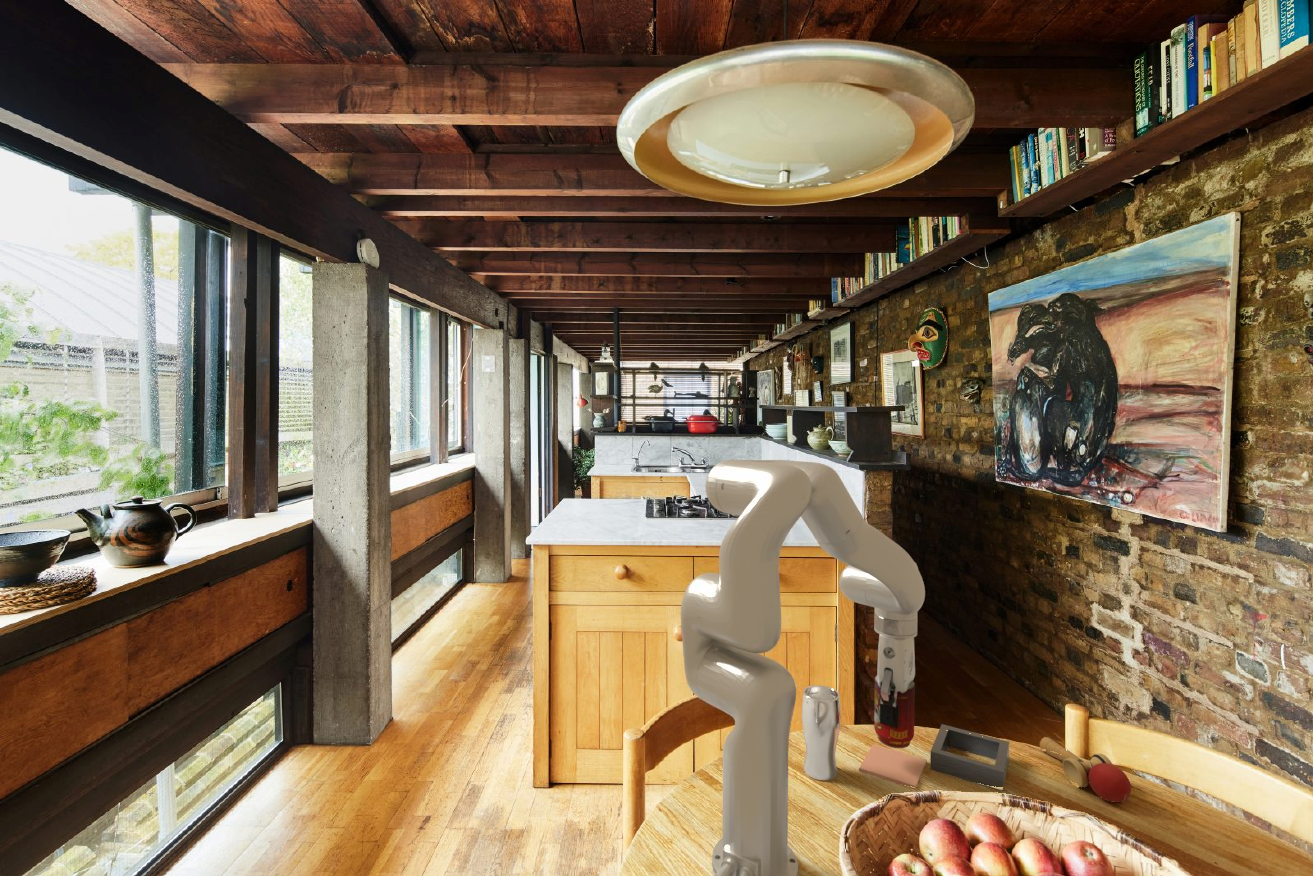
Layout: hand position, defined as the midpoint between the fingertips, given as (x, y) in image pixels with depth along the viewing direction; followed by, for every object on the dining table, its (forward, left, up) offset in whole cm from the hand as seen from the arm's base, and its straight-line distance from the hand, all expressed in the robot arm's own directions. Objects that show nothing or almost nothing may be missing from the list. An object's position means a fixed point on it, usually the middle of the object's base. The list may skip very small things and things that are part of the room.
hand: (894, 715), depth 116 cm
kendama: (+15, -29, -10) cm, 35 cm away
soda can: (0, 0, -5) cm, 5 cm away
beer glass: (-9, +11, -10) cm, 17 cm away
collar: (+9, -12, -10) cm, 18 cm away
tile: (0, 0, -10) cm, 10 cm away
